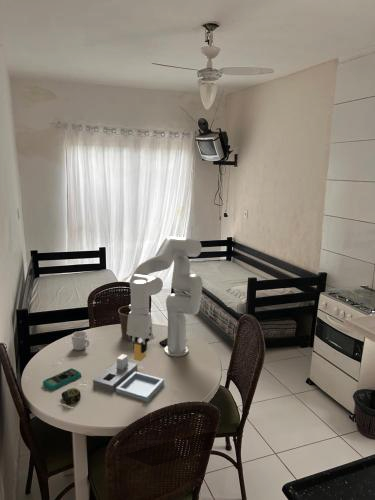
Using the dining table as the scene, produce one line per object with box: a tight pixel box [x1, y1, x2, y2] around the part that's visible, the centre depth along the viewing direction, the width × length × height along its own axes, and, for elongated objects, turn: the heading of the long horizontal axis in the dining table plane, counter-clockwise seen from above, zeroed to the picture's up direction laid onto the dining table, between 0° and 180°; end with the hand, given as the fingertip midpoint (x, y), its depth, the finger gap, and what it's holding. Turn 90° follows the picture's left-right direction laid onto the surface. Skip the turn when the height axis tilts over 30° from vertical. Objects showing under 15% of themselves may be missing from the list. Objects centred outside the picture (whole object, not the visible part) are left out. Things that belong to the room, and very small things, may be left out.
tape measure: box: [61, 388, 81, 406], centre depth 150 cm, size 7×7×4 cm
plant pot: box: [117, 305, 139, 342], centre depth 209 cm, size 16×16×16 cm
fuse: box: [116, 353, 129, 370], centre depth 170 cm, size 4×3×8 cm, turn 156°
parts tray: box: [115, 371, 165, 404], centre depth 159 cm, size 15×15×2 cm
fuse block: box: [92, 361, 138, 393], centre depth 166 cm, size 20×10×4 cm, turn 156°
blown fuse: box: [133, 338, 147, 362], centre depth 156 cm, size 4×3×8 cm, turn 156°
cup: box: [71, 330, 90, 351], centre depth 193 cm, size 11×8×8 cm
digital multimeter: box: [42, 368, 82, 392], centre depth 164 cm, size 8×15×3 cm, turn 141°
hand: (140, 350), depth 156 cm, fingers closed on blown fuse, 3 cm apart
